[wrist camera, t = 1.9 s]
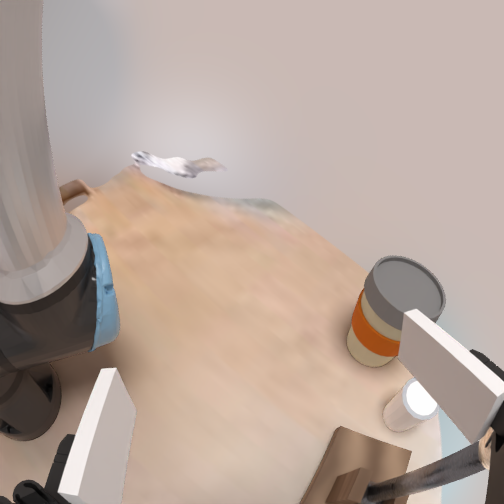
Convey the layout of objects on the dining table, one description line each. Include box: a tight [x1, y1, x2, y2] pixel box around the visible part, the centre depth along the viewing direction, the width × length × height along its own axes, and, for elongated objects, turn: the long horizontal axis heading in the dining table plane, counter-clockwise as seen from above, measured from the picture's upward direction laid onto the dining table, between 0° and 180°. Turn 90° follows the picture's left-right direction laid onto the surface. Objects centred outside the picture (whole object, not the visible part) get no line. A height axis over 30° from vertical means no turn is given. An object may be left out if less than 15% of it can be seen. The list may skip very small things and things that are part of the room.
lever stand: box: [300, 426, 412, 504], centre depth 25 cm, size 12×18×9 cm, turn 152°
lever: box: [357, 426, 494, 504], centre depth 17 cm, size 4×4×24 cm
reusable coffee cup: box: [347, 256, 446, 367], centre depth 43 cm, size 13×13×15 cm
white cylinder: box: [383, 377, 440, 432], centre depth 35 cm, size 7×7×7 cm
